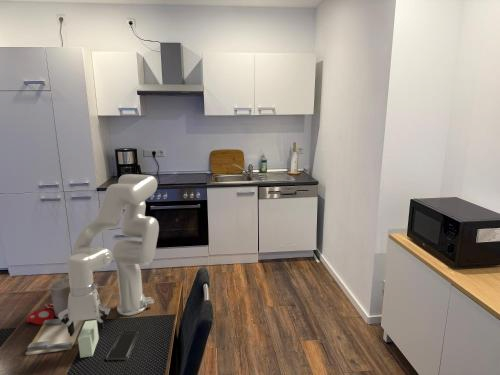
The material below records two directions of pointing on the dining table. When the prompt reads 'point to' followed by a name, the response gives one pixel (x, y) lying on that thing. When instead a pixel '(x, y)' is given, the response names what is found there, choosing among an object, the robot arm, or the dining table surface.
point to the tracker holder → (41, 315)
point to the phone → (122, 346)
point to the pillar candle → (60, 295)
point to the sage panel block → (88, 338)
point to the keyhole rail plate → (54, 337)
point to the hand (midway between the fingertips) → (86, 332)
